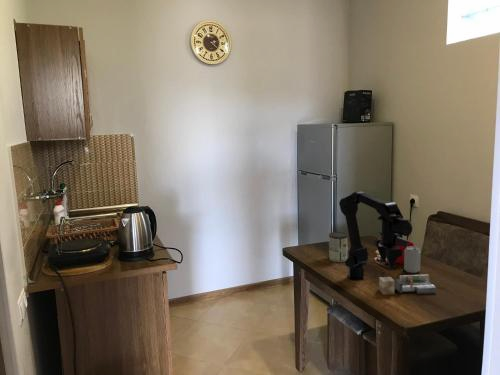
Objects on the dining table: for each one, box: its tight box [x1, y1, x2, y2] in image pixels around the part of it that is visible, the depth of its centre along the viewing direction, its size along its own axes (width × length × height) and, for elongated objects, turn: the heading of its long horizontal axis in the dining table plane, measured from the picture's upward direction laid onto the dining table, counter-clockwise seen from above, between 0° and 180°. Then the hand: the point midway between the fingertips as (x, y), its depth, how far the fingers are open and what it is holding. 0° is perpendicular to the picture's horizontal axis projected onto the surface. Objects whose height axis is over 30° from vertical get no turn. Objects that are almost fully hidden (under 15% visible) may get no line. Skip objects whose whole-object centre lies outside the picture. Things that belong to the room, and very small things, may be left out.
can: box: [403, 246, 421, 274], centre depth 203 cm, size 8×8×12 cm
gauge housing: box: [399, 274, 437, 295], centre depth 181 cm, size 13×9×5 cm
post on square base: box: [394, 278, 435, 294], centre depth 180 cm, size 16×5×5 cm, turn 91°
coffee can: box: [328, 231, 349, 263], centre depth 224 cm, size 10×10×14 cm
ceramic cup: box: [394, 241, 415, 265], centre depth 219 cm, size 13×17×10 cm
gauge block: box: [378, 276, 396, 295], centre depth 180 cm, size 5×5×6 cm
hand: (387, 265), depth 178 cm, fingers open, 9 cm apart
